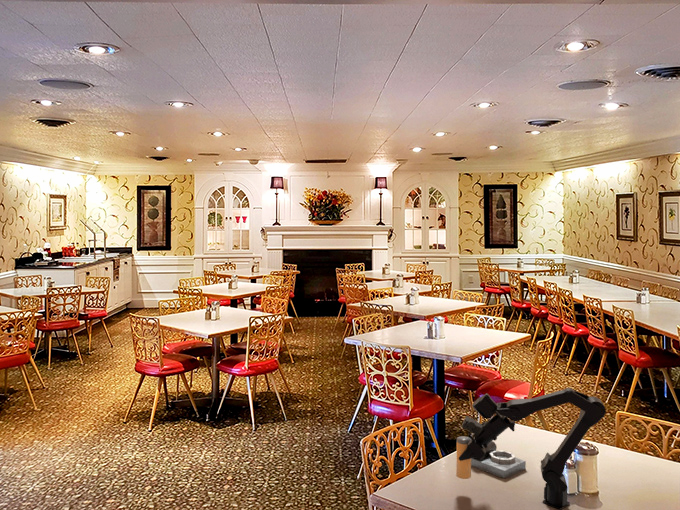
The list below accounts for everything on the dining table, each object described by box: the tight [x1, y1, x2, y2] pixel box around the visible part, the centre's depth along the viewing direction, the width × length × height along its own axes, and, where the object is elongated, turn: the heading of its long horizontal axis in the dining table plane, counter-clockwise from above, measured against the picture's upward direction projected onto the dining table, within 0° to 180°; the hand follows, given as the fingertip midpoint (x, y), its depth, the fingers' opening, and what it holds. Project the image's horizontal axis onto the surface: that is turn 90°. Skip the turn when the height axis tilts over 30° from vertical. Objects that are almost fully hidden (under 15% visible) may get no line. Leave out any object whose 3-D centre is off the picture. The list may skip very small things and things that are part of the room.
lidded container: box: [455, 435, 472, 480], centre depth 199 cm, size 5×5×13 cm
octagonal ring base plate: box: [471, 440, 527, 479], centre depth 220 cm, size 16×14×7 cm
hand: (459, 456), depth 199 cm, fingers closed on lidded container, 5 cm apart
